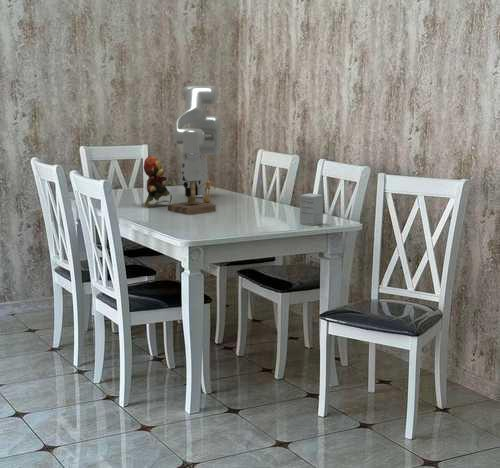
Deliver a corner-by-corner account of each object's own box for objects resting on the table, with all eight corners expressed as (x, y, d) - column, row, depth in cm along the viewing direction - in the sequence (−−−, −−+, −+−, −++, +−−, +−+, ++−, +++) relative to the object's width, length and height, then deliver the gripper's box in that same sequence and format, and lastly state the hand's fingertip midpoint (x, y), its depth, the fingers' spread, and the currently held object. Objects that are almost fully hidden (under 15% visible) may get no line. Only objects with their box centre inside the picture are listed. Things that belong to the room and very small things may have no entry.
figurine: (213, 201, 416) (213, 178, 414) (217, 203, 410) (217, 179, 408) (197, 202, 413) (197, 178, 411) (200, 204, 408) (200, 180, 405)
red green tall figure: (151, 206, 389) (142, 154, 389) (137, 210, 403) (129, 160, 403) (179, 202, 396) (171, 151, 396) (165, 206, 411) (157, 157, 411)
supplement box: (309, 221, 360) (309, 193, 357) (323, 223, 355) (323, 194, 353) (299, 223, 354) (299, 194, 352) (313, 225, 350) (313, 196, 347)
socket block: (167, 210, 387) (167, 204, 386) (193, 207, 398) (193, 201, 397) (189, 214, 376) (189, 208, 375) (215, 211, 387) (215, 204, 386)
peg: (186, 202, 386) (186, 176, 384) (192, 201, 388) (191, 176, 386) (191, 203, 383) (191, 177, 381) (197, 202, 386) (196, 176, 384)
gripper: (182, 158, 374) (182, 198, 377) (210, 156, 385) (210, 195, 388) (172, 157, 379) (172, 196, 382) (199, 155, 390) (199, 193, 394)
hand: (191, 195), depth 385 cm, fingers closed on peg, 3 cm apart
